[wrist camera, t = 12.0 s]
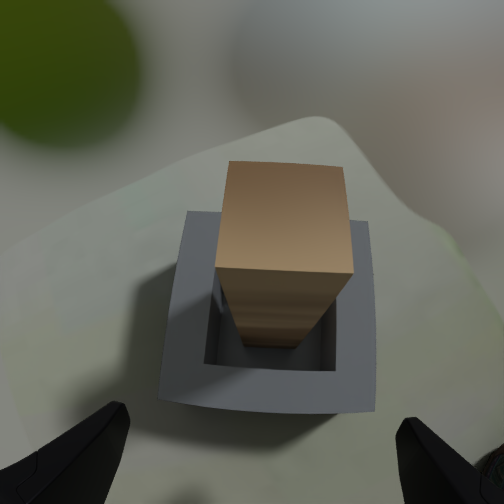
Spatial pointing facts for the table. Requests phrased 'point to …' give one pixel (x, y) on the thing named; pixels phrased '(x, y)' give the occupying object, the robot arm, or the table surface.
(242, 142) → the table surface
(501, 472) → the mate gourd
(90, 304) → the table surface
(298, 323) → the tall wooden pillar block
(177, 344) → the grey square socket holder
